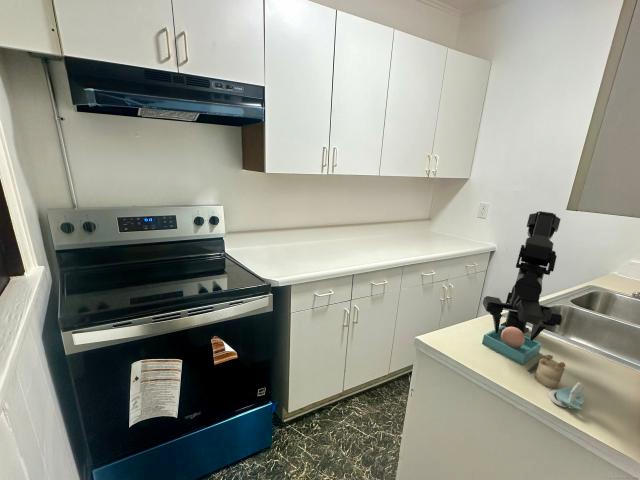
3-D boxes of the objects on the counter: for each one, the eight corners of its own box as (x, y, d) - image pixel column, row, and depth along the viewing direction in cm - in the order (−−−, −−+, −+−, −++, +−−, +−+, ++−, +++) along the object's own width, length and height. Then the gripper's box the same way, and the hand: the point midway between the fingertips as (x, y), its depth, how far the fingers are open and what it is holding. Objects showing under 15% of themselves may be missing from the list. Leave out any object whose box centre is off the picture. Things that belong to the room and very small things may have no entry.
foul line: (548, 355, 91) (548, 354, 91) (552, 356, 91) (552, 356, 91) (527, 370, 83) (527, 370, 83) (531, 373, 83) (531, 372, 83)
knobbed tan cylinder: (539, 372, 83) (545, 352, 82) (561, 383, 79) (568, 363, 78) (531, 378, 80) (537, 358, 79) (553, 391, 77) (560, 370, 75)
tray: (500, 333, 101) (502, 325, 100) (539, 352, 92) (542, 343, 91) (481, 343, 94) (484, 334, 94) (521, 365, 86) (524, 355, 85)
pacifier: (545, 402, 73) (578, 418, 69) (552, 379, 72) (585, 393, 67) (552, 388, 78) (583, 402, 74) (558, 366, 76) (590, 379, 72)
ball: (506, 325, 97) (513, 320, 92) (525, 341, 94) (533, 335, 89) (493, 338, 96) (500, 333, 91) (512, 354, 93) (519, 350, 88)
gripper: (497, 291, 83) (484, 344, 87) (580, 306, 78) (562, 360, 82) (488, 277, 93) (477, 324, 97) (560, 289, 89) (545, 337, 93)
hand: (513, 336), depth 92 cm, fingers open, 9 cm apart
